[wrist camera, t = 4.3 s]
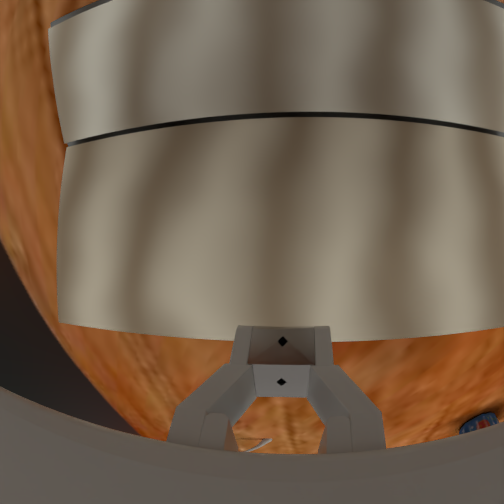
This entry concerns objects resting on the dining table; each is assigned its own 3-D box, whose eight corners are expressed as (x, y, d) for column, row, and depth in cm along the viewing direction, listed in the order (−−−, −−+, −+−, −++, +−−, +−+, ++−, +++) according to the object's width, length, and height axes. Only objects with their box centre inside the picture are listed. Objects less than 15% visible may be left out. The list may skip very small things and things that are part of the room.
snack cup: (514, 407, 36) (527, 450, 28) (475, 435, 42) (484, 475, 34) (477, 402, 35) (492, 456, 26) (432, 433, 40) (440, 483, 32)
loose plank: (497, 145, 16) (508, 138, 14) (507, 320, 15) (520, 323, 14) (78, 153, 20) (66, 147, 18) (72, 319, 19) (58, 322, 18)
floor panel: (498, 5, 10) (517, 3, 8) (461, 293, 24) (471, 311, 22) (58, 23, 15) (37, 22, 13) (121, 293, 28) (110, 310, 26)
